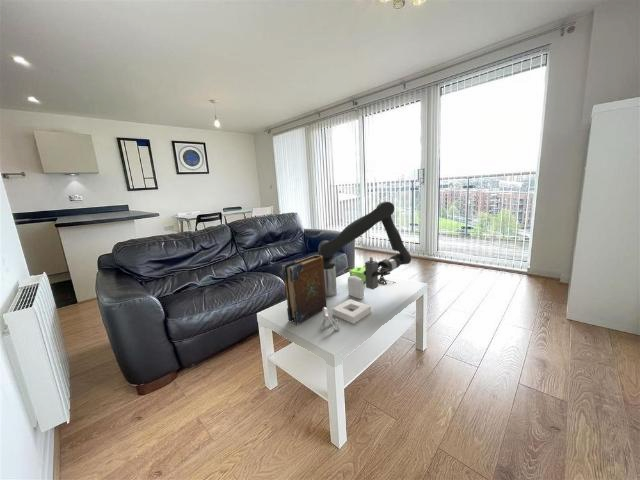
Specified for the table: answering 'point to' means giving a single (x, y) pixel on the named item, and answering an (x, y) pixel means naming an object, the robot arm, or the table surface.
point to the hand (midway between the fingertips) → (368, 274)
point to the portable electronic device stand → (326, 317)
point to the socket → (351, 310)
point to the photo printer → (355, 287)
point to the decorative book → (304, 288)
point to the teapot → (358, 273)
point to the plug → (371, 268)
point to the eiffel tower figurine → (382, 280)
